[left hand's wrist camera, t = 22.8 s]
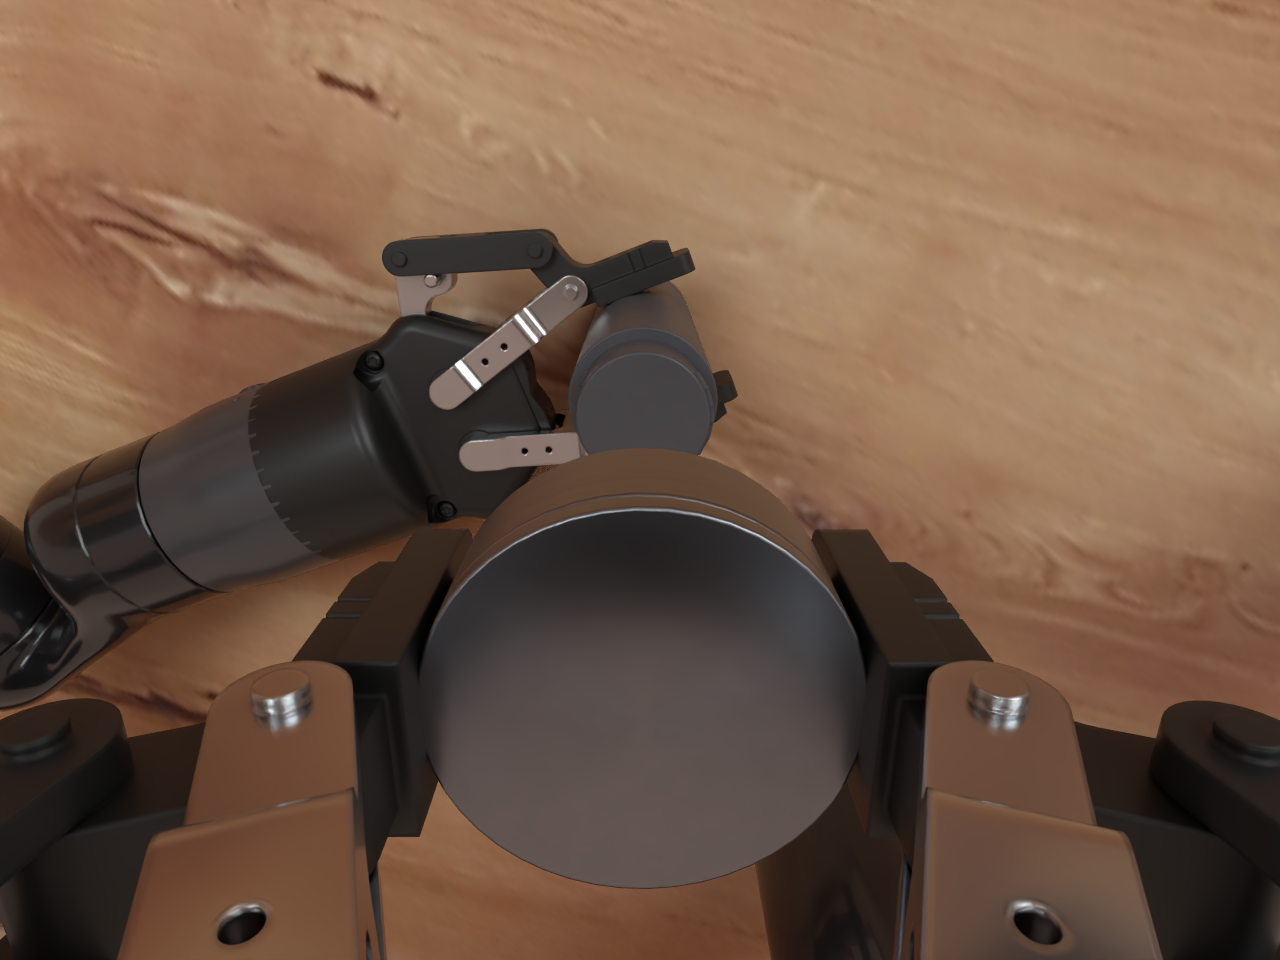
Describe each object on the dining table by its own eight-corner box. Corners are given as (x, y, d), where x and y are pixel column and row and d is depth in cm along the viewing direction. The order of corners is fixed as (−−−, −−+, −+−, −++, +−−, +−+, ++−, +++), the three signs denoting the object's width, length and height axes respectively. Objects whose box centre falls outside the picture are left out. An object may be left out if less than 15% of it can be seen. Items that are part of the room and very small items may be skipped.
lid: (521, 388, 10) (492, 437, 8) (895, 525, 10) (952, 601, 8) (410, 715, 11) (365, 821, 9) (739, 816, 12) (758, 935, 10)
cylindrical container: (627, 384, 37) (619, 521, 22) (576, 306, 36) (530, 394, 21) (706, 335, 37) (752, 442, 21) (657, 253, 35) (669, 305, 20)
